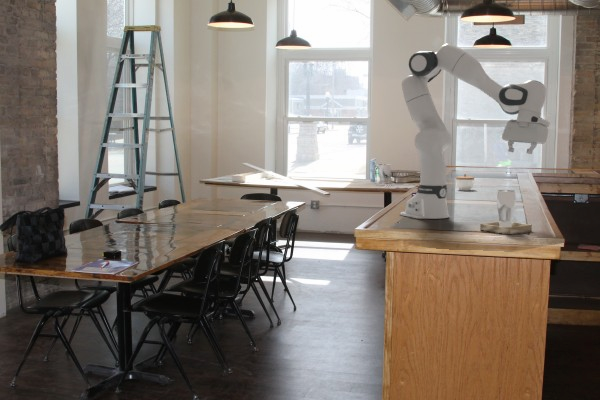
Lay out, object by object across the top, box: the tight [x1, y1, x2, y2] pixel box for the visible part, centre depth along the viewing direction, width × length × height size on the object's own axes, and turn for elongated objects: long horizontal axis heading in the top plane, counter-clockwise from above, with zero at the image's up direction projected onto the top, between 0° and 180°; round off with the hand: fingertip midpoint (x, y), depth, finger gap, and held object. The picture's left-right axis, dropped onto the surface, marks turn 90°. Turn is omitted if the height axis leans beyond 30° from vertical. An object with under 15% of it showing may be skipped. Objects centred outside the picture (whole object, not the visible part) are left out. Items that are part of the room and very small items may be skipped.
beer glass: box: [496, 189, 516, 228], centre depth 286 cm, size 7×7×15 cm
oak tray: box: [479, 220, 533, 235], centre depth 287 cm, size 14×14×3 cm
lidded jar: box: [455, 173, 475, 191], centre depth 442 cm, size 11×11×9 cm
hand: (519, 152), depth 304 cm, fingers open, 8 cm apart
